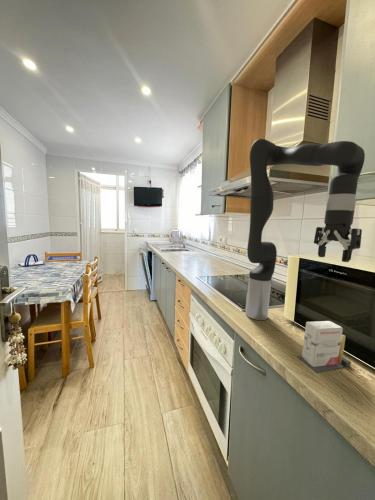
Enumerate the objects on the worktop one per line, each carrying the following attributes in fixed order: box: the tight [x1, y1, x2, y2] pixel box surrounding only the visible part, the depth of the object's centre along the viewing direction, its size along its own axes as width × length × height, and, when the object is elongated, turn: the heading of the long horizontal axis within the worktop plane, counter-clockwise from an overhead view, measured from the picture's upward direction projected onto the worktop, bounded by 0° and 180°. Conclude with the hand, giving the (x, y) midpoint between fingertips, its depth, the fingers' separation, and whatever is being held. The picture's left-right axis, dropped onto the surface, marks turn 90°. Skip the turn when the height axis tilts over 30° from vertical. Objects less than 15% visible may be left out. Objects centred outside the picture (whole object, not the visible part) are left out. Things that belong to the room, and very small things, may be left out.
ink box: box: [301, 320, 344, 367], centre depth 62 cm, size 9×5×12 cm, turn 100°
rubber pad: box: [297, 354, 344, 373], centre depth 63 cm, size 7×10×1 cm
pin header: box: [337, 334, 352, 368], centre depth 64 cm, size 7×3×9 cm, turn 15°
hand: (332, 259), depth 69 cm, fingers open, 8 cm apart
